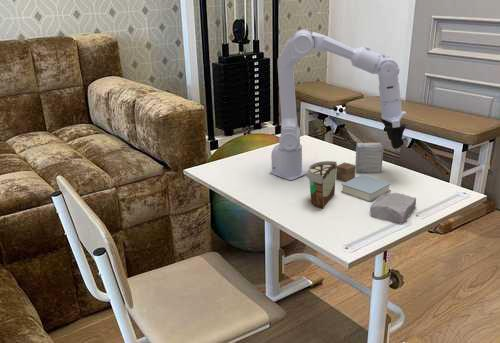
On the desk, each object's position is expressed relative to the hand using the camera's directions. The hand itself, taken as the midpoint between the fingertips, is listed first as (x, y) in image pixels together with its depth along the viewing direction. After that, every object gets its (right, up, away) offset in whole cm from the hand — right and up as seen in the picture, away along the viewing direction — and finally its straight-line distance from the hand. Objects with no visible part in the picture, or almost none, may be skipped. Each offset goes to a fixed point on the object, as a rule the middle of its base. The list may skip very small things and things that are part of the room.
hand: (394, 143), depth 149 cm
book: (-10, -14, -6) cm, 18 cm away
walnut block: (-14, -11, +3) cm, 18 cm away
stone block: (-6, -19, -18) cm, 27 cm away
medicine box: (-6, -8, +9) cm, 13 cm away
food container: (-24, -17, -10) cm, 31 cm away
